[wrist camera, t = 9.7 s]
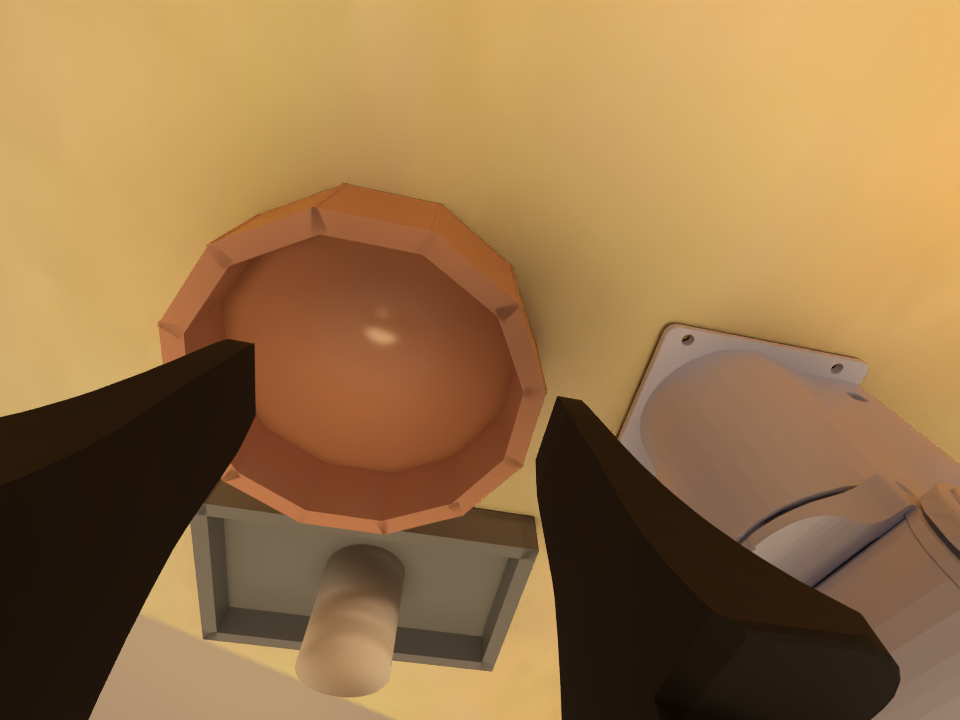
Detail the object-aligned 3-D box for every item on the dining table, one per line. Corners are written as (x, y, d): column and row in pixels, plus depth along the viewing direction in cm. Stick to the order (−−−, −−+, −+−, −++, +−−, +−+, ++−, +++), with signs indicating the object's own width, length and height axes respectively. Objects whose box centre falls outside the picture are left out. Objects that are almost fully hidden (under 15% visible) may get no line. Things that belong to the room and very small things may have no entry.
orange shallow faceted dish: (569, 229, 19) (589, 262, 16) (493, 487, 26) (495, 550, 22) (205, 153, 18) (138, 169, 14) (222, 446, 24) (179, 506, 21)
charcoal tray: (534, 516, 27) (538, 550, 25) (491, 636, 32) (491, 671, 30) (210, 469, 25) (187, 501, 23) (220, 603, 30) (203, 639, 28)
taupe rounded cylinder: (399, 543, 27) (383, 642, 22) (408, 594, 29) (395, 696, 24) (319, 545, 27) (285, 645, 22) (334, 596, 29) (306, 698, 24)
